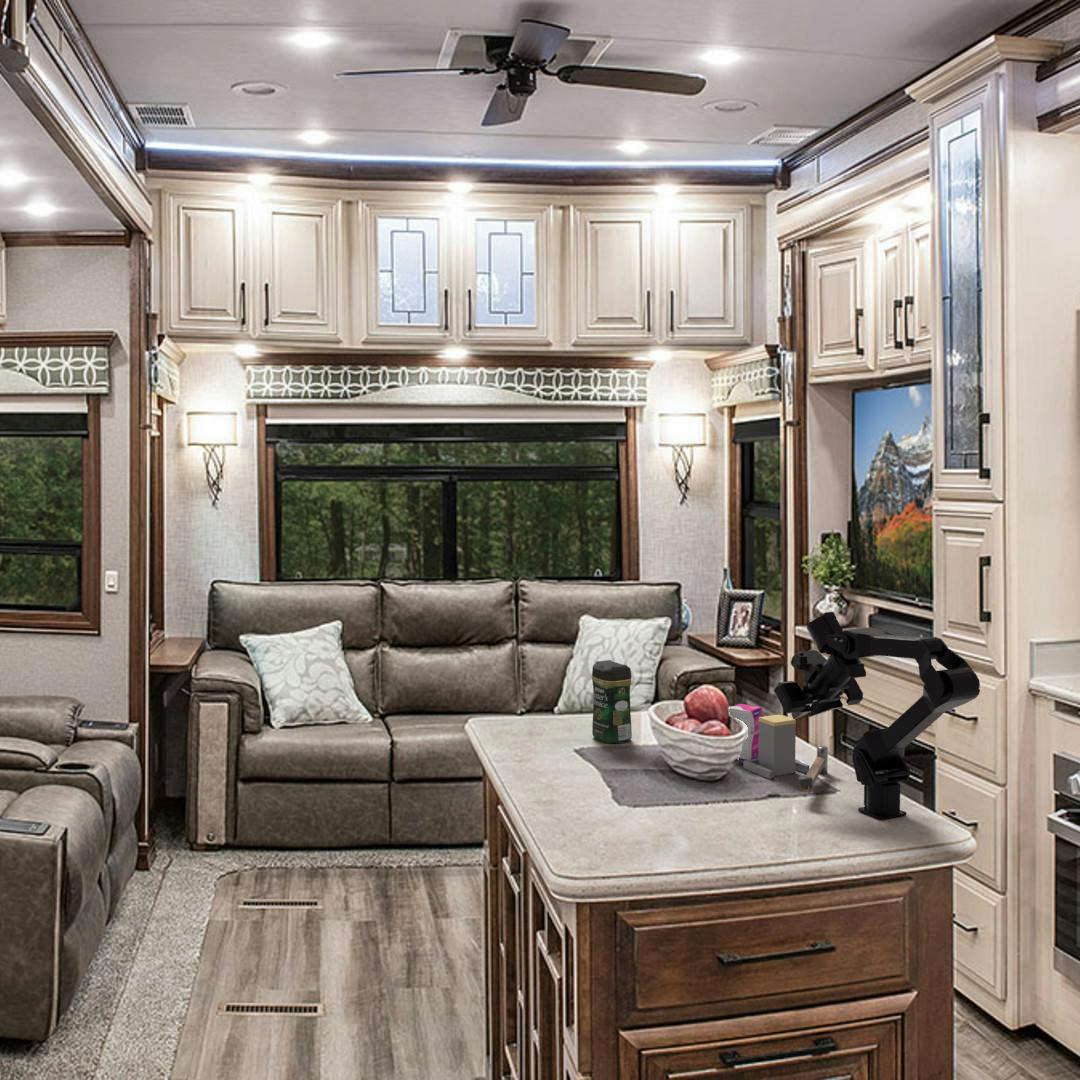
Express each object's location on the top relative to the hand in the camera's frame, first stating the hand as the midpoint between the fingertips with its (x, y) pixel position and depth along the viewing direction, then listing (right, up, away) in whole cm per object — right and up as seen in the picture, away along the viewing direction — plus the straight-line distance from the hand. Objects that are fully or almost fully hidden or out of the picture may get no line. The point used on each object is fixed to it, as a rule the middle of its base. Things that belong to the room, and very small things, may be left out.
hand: (800, 716), depth 255 cm
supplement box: (-9, -12, +19) cm, 24 cm away
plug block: (-3, -13, +9) cm, 16 cm away
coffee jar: (-37, -11, +37) cm, 53 cm away
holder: (-3, -13, +9) cm, 16 cm away
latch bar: (+1, -12, -5) cm, 13 cm away
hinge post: (+6, -13, +7) cm, 16 cm away
